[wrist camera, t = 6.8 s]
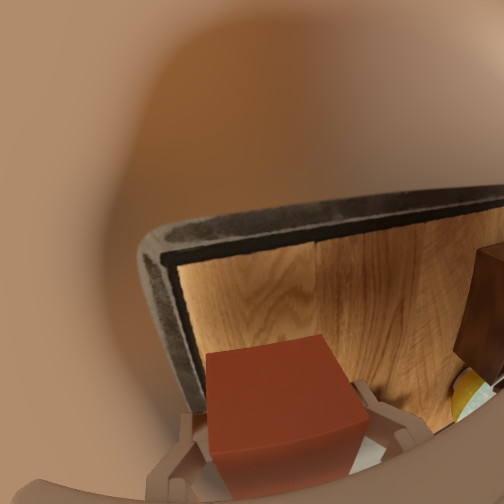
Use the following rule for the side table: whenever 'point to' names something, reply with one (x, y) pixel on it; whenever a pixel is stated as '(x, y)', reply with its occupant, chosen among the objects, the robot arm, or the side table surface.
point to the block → (281, 417)
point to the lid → (498, 386)
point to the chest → (484, 317)
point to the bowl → (469, 394)
